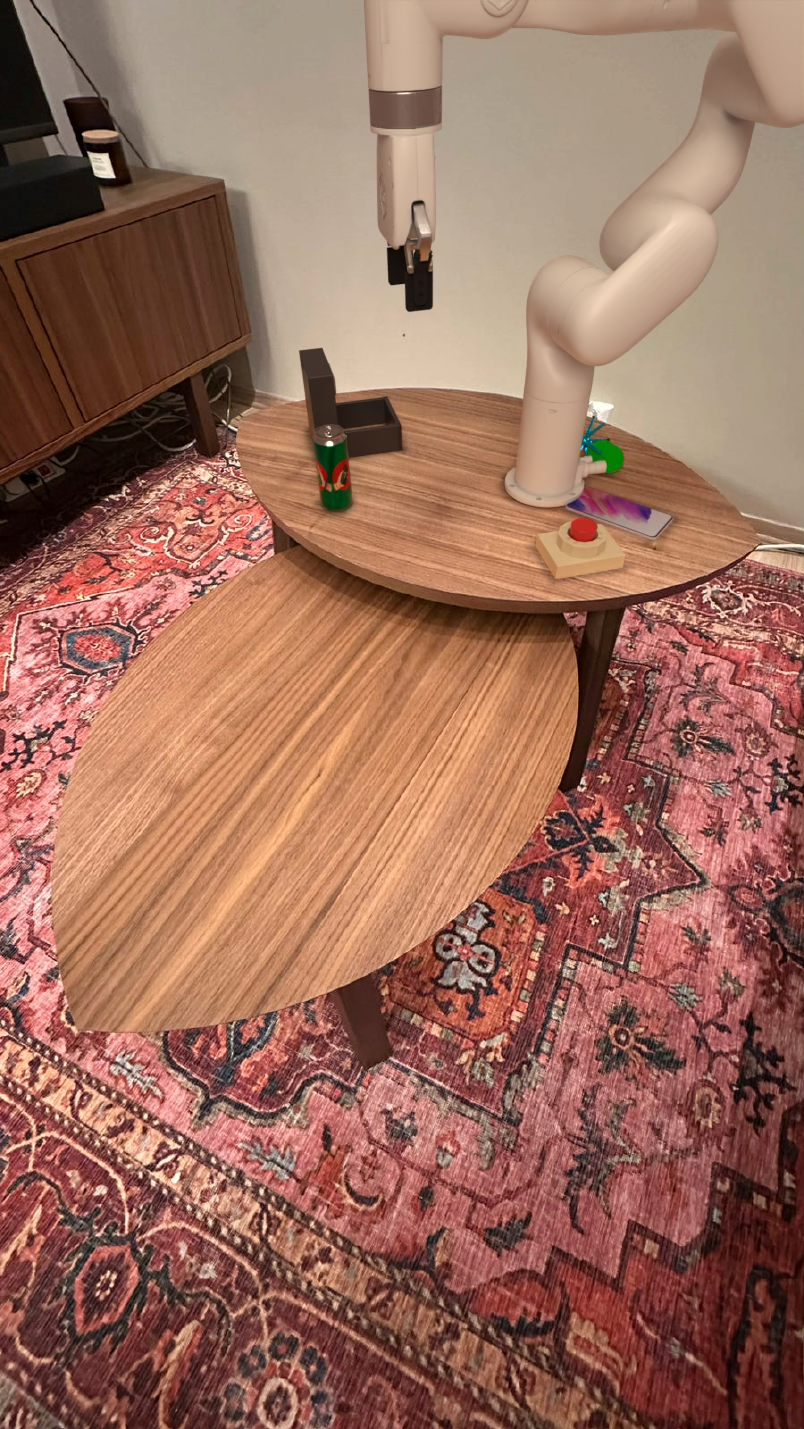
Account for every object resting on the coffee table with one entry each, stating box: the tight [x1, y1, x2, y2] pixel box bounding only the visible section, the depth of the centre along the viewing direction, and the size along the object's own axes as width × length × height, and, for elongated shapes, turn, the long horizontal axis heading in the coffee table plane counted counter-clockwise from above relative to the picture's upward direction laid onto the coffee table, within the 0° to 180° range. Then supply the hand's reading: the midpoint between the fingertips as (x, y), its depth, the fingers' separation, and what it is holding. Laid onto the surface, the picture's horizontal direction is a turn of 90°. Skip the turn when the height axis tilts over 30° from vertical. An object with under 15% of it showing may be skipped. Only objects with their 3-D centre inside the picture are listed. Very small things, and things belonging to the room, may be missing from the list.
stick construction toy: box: [580, 414, 625, 474], centre depth 114 cm, size 12×7×8 cm
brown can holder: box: [298, 347, 403, 458], centre depth 117 cm, size 15×12×14 cm
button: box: [569, 517, 598, 542], centre depth 94 cm, size 4×4×2 cm
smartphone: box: [565, 486, 675, 541], centre depth 105 cm, size 7×1×15 cm
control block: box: [534, 520, 627, 580], centre depth 96 cm, size 10×8×4 cm
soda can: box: [312, 424, 354, 513], centre depth 104 cm, size 5×5×12 cm
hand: (409, 296), depth 84 cm, fingers open, 9 cm apart
